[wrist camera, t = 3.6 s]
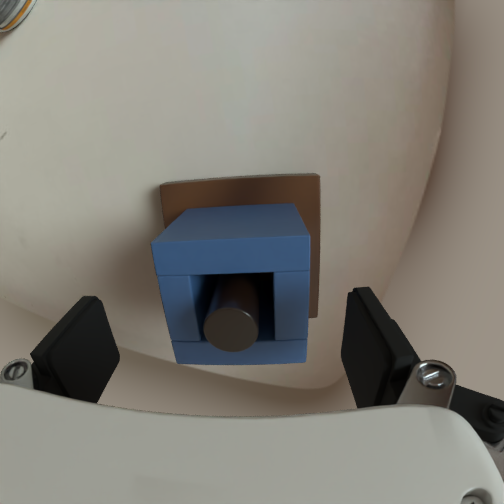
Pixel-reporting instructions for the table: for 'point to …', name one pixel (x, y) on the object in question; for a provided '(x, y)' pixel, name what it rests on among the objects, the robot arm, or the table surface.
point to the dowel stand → (246, 284)
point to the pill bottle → (13, 12)
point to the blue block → (236, 261)
